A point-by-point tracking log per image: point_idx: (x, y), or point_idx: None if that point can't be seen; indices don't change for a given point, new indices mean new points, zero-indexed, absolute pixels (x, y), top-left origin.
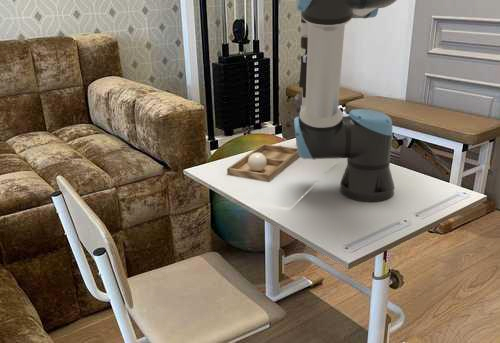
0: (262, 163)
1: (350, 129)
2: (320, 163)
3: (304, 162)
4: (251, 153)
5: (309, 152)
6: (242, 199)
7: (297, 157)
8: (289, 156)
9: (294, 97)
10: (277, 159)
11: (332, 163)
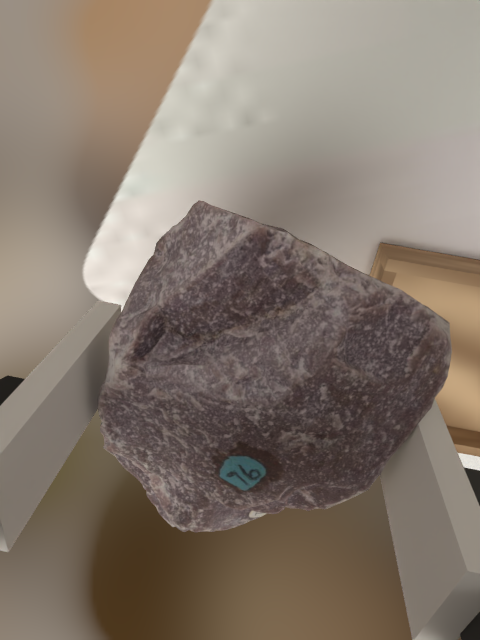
0: None
1: None
2: (473, 124)
3: (458, 215)
4: (468, 447)
5: None
6: None
7: (444, 259)
8: (418, 298)
9: (230, 526)
10: (463, 340)
11: (473, 47)
